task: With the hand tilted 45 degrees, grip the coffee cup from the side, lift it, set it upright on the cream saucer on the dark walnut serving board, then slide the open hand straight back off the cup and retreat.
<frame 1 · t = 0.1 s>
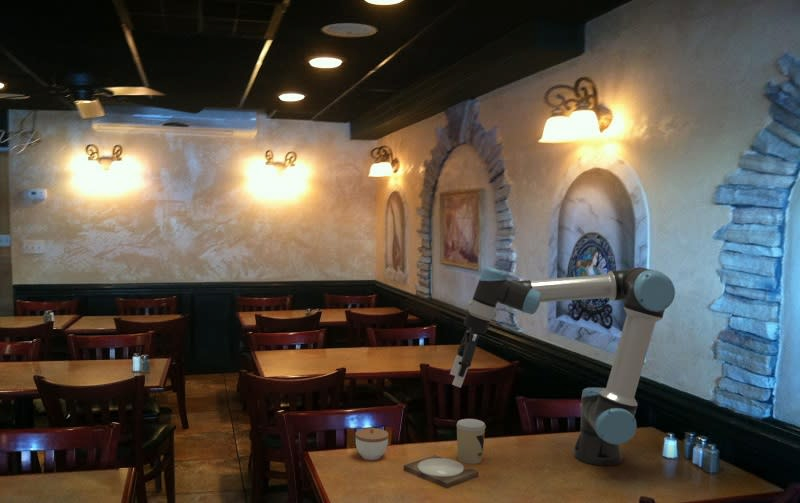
hand: (455, 380, 216), 28 cm above the table, tool tilted 20°, fingers open, 13 cm apart
coffee cup: (469, 460, 225), on the table
serving board: (440, 473, 213), on the table
lidded jar: (371, 457, 225), on the table
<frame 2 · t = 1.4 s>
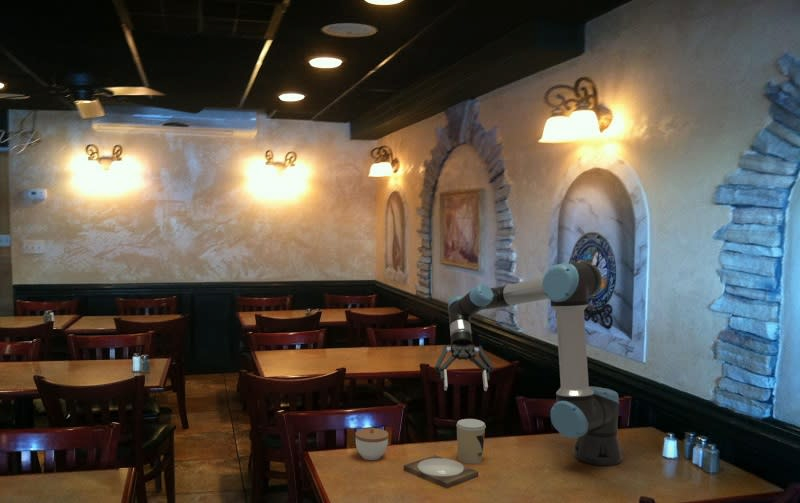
hand: (466, 388, 235), 20 cm above the table, tool tilted 45°, fingers open, 13 cm apart
nothing on the table moved.
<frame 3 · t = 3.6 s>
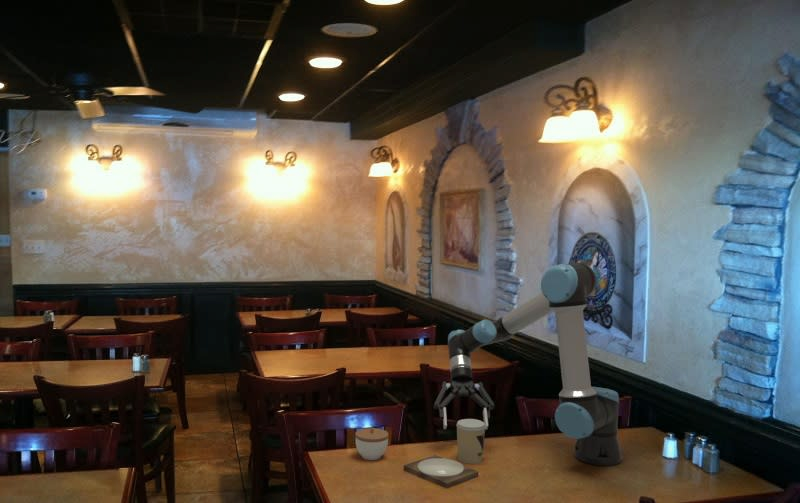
hand: (465, 427, 229), 9 cm above the table, tool tilted 45°, fingers open, 13 cm apart
nothing on the table moved.
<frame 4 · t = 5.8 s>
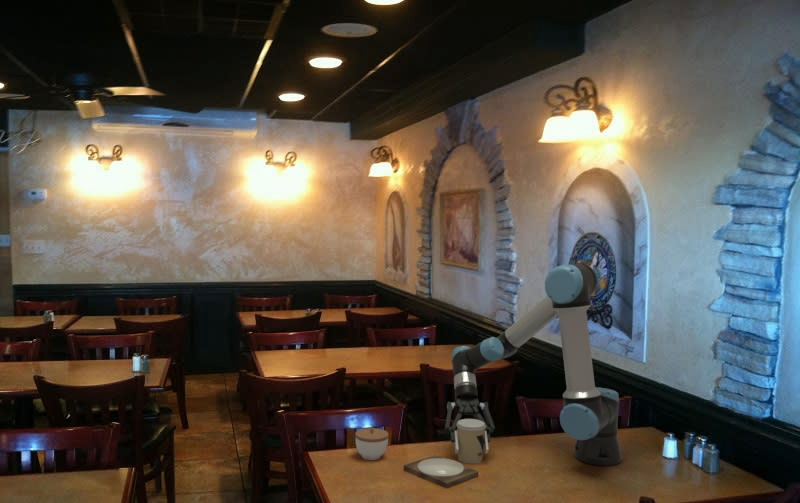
hand: (471, 451, 222), 4 cm above the table, tool tilted 45°, fingers closed on coffee cup, 9 cm apart
coffee cup: (469, 459, 225), on the table, touching gripper
everything else where it was.
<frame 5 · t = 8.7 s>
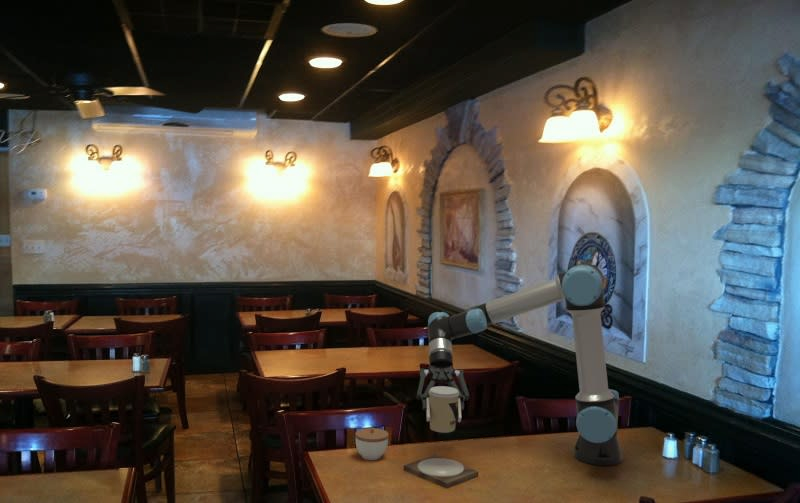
hand: (444, 419, 211), 17 cm above the table, tool tilted 45°, fingers closed on coffee cup, 9 cm apart
coffee cup: (442, 429, 214), point 13 cm above the table, touching gripper
everything else where it was.
when the fingers open (6 cm above the table, at t = 11.8 s): coffee cup stays where it is, resting on serving board.
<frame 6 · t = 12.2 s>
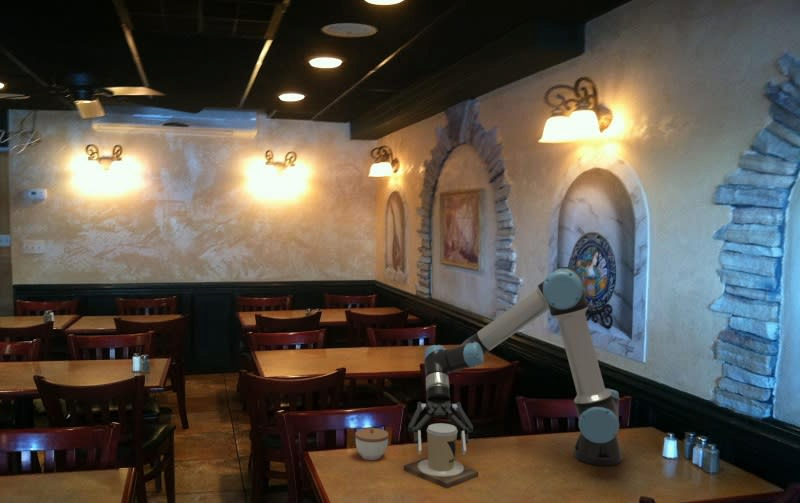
hand: (442, 452, 210), 7 cm above the table, tool tilted 45°, fingers open, 13 cm apart
coffee cup: (441, 467, 213), point 2 cm above the table, touching serving board
everything else where it was.
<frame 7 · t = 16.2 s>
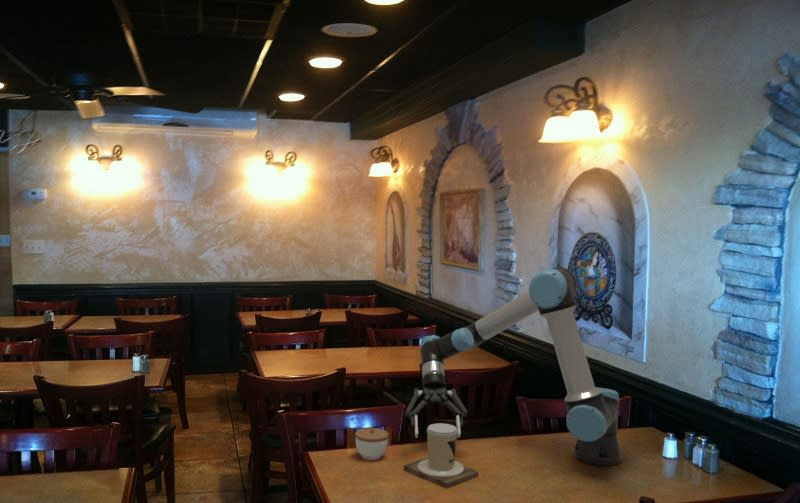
hand: (437, 435, 222), 8 cm above the table, tool tilted 45°, fingers open, 13 cm apart
nothing on the table moved.
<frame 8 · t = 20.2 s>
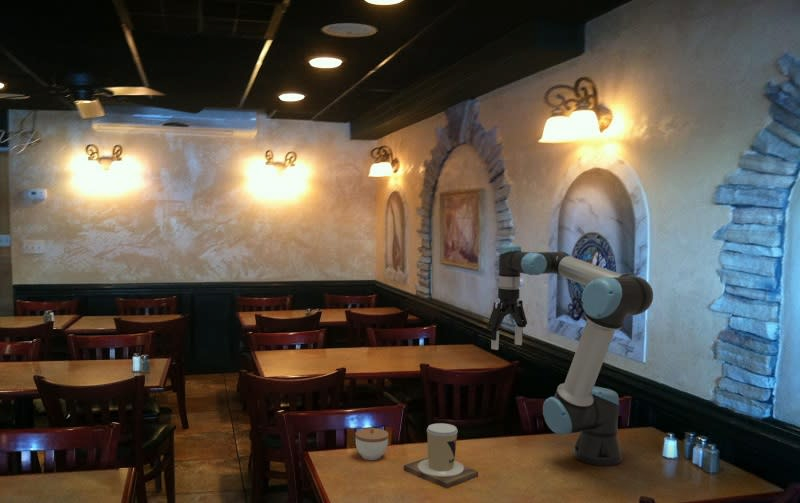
hand: (506, 347, 250), 32 cm above the table, tool pointing down, fingers open, 13 cm apart
nothing on the table moved.
at the end: coffee cup inside the target area on the serving board (0.2 cm from its centre), point 1.9 cm above the serving board's base; coffee cup tilted 0°; the gripper is holding nothing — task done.
